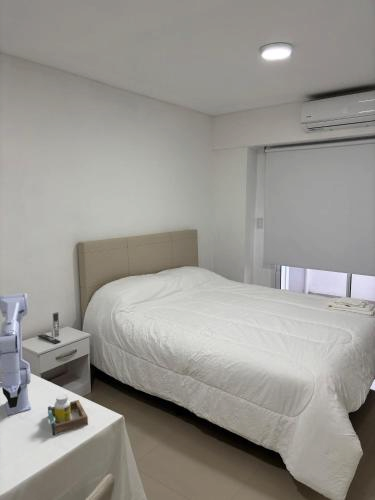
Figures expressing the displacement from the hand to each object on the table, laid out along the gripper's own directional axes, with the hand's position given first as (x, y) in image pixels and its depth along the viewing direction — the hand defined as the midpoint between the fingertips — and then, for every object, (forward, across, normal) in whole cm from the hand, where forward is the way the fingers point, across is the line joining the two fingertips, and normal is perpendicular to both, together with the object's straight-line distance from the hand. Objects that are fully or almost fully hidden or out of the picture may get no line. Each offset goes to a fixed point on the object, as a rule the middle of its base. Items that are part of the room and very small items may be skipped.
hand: (12, 406), depth 130 cm
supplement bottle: (+10, +2, +16) cm, 19 cm away
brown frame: (+9, +2, +16) cm, 19 cm away
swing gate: (+8, +3, +12) cm, 15 cm away
